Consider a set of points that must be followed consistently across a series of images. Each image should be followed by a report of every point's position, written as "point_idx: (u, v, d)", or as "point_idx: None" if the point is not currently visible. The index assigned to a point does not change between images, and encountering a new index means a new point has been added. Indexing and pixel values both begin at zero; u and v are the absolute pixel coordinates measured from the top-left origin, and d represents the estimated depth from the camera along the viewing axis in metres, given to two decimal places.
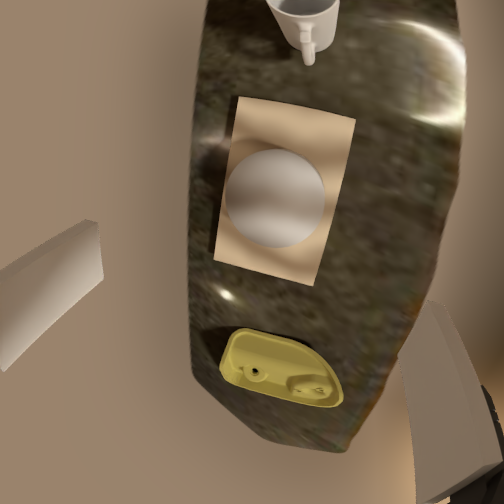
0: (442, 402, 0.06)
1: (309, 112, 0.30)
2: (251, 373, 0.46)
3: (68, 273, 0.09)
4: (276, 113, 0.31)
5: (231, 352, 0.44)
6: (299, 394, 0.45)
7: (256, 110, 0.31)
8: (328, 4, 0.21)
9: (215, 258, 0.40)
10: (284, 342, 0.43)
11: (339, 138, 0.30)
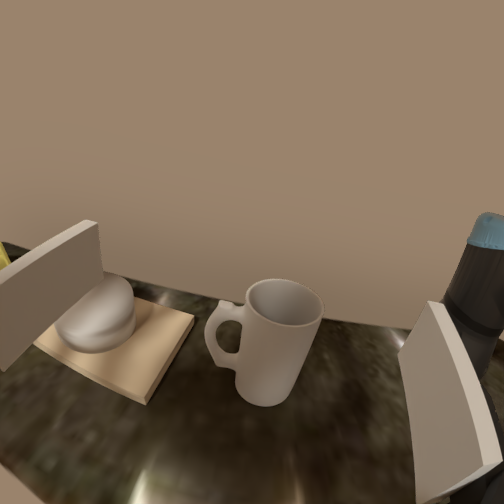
0: (442, 402, 0.06)
1: (161, 359, 0.28)
2: None
3: (68, 273, 0.09)
4: (168, 336, 0.32)
5: (1, 258, 0.35)
6: None
7: (176, 323, 0.34)
8: None
9: None
10: None
11: (126, 377, 0.25)
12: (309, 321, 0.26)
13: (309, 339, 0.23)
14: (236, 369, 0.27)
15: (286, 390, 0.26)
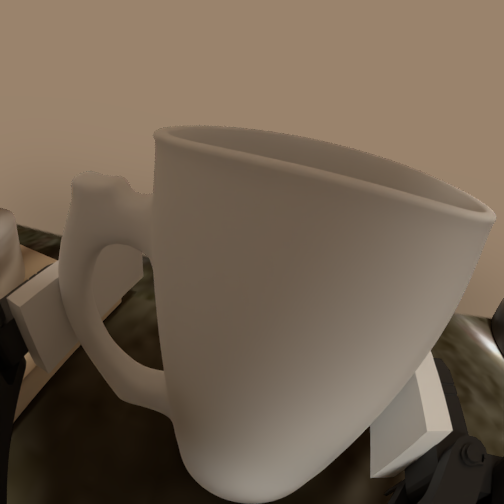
0: None
1: (26, 364, 0.10)
2: None
3: (113, 270, 0.10)
4: None
5: None
6: None
7: None
8: None
9: None
10: None
11: None
12: None
13: (450, 318, 0.04)
14: (169, 415, 0.08)
15: None
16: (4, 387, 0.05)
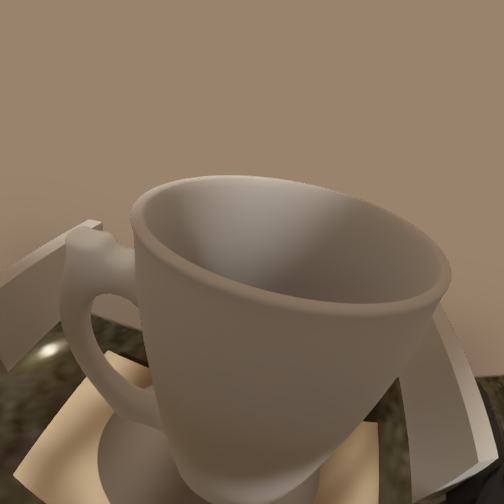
0: (437, 399, 0.06)
1: None
2: None
3: None
4: (360, 476, 0.13)
5: None
6: None
7: (360, 447, 0.15)
8: None
9: (108, 352, 0.20)
10: None
11: None
12: None
13: (401, 369, 0.05)
14: (164, 432, 0.09)
15: None
16: None
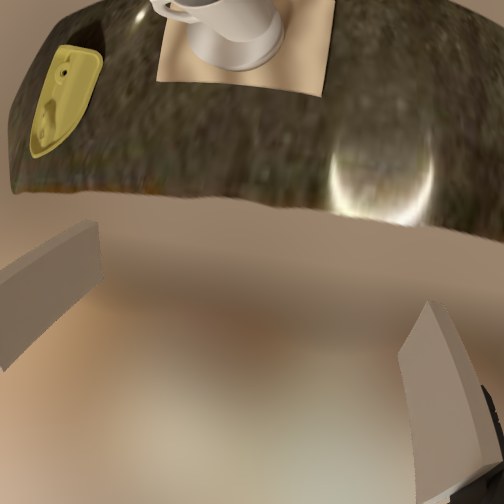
0: (442, 402, 0.06)
1: (323, 54, 0.27)
2: (62, 70, 0.33)
3: (68, 273, 0.09)
4: (319, 28, 0.26)
5: (81, 53, 0.30)
6: (42, 113, 0.37)
7: (321, 12, 0.25)
8: (248, 20, 0.20)
9: None
10: (85, 99, 0.36)
11: (300, 80, 0.29)
12: None
13: (241, 2, 0.16)
14: None
15: (257, 29, 0.22)
16: None
